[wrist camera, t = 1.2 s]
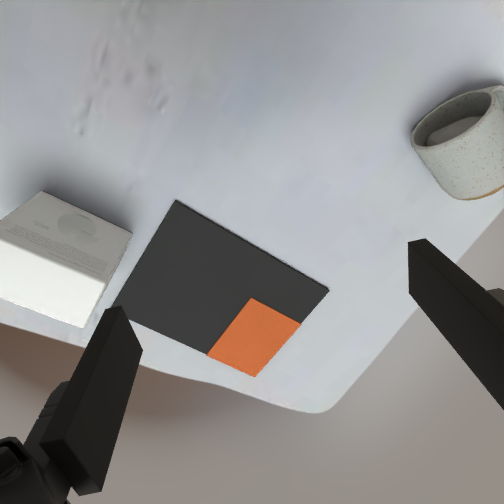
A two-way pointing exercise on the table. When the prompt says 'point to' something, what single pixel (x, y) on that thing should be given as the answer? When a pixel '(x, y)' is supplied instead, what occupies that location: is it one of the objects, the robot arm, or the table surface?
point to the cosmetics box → (58, 258)
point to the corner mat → (217, 292)
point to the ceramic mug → (465, 143)
